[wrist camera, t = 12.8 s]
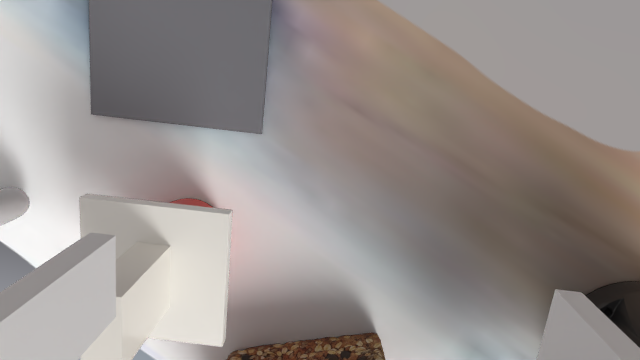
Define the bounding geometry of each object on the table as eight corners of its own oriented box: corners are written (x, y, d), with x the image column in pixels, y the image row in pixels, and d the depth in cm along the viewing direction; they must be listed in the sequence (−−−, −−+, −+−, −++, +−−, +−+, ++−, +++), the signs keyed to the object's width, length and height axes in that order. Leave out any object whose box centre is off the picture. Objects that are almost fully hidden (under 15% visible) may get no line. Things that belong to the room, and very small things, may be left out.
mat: (274, -31, 43) (273, -33, 43) (262, 133, 47) (261, 134, 47) (91, -51, 44) (87, -53, 43) (94, 113, 48) (91, 114, 47)
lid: (232, 209, 39) (195, 258, 30) (225, 339, 43) (190, 421, 33) (86, 193, 40) (2, 236, 30) (91, 323, 43) (16, 400, 33)
